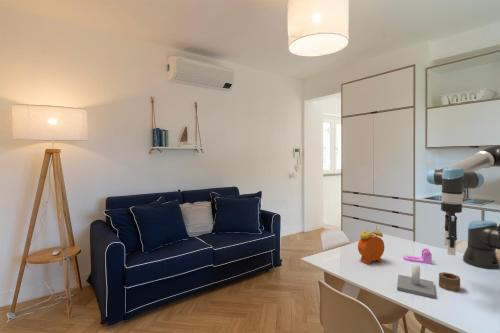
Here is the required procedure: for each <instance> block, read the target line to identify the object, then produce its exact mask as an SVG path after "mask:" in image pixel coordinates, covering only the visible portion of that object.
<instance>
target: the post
mask: <svg viewBox="0 0 500 333" xmlns="http://www.w3.org/2000/svg"><path fill="white" fill-rule="evenodd" d="M396 290H397V291H399V292H404V293H408V294H413V295H416V296H417V295H418V296H421V297H427V298H430V299H434V300H436V296H437V294H436V290H435V285H434V281H433V280H429V279H428V280H427V279H422V278H421V267H420V265H416V264H415V265H414V264H412V266H411V276H408V275H403V274H398V276H397V285H396Z"/></svg>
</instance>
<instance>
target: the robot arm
mask: <svg viewBox="0 0 500 333" xmlns="http://www.w3.org/2000/svg"><path fill="white" fill-rule="evenodd" d="M493 167H495V168H496V167H500V144H498V145H493V146H490V147H486V148H484V149H482V150H480V151H477V152H475V154H474V155H472V156H470V157H468V158H465V159H462V160H460V161H458V162H455V163H453V164H450V165H448V166H446V167H443V168H441V169H437V168H436V169H430V170H429V171H428V172H427V173H426V181H427V182H428V183H429V184H430V185H435V186H441V194H439V197H441V203H440V211H441V212H445V215H444V218H445V222H444V241H443V242H444V246H447V250H446V251H447V253H446V254H447V255H449V256H456V253H457V252H456V250H457V249H456V248H457V240H458V237H457V236H458V234H457V233H458V232H457V220H458V217H457V215H456V214H459V213H460V214H461V213H462V212H463V204H462V203H463V200H464V198H463V197H464V193H463V192H464V189H473V190H474V189H477V188H481V187H482V186H483V185H484V183H485V178H484V176H483V174H482V173H480V172H479V170H482V169H488V168H493ZM498 224H499V225H498ZM498 224H497V222H496V221H492V220H491V221H490V220H471V221H469V223H468V228H467V247H466V249H465V251H464V253H463V255H462V261H463V262H465V263H466V264H469V265H471V266H474V267H476V268H477V267H478V268H482V269H488V270H491V269H492V270H496V269H499V268H500V261H499V258H498V254H497V252H496V250H498V251H500V222H499V223H498Z"/></svg>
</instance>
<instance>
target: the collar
mask: <svg viewBox="0 0 500 333" xmlns="http://www.w3.org/2000/svg"><path fill="white" fill-rule="evenodd" d="M438 286H439V288H442V289H444V290H445V291H446V290H447V291H450V292H458V291H460V290H461V289H460V288H461V278H460V276H458V275H457V274H454V273H451V272H446V271H445V272H443V271H442V272H439V273H438Z"/></svg>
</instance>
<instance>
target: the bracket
mask: <svg viewBox="0 0 500 333" xmlns="http://www.w3.org/2000/svg"><path fill="white" fill-rule="evenodd" d="M432 255H433V254H432V252H431V250H430V249H429V248H427V247H424V248H422V250H421V256H413V255H407V254H406V255H403V257H402V258H403V260H404V261H407V262H413V263H419V264H425V265H427V264H428V265H432V258H433V257H432Z"/></svg>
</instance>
